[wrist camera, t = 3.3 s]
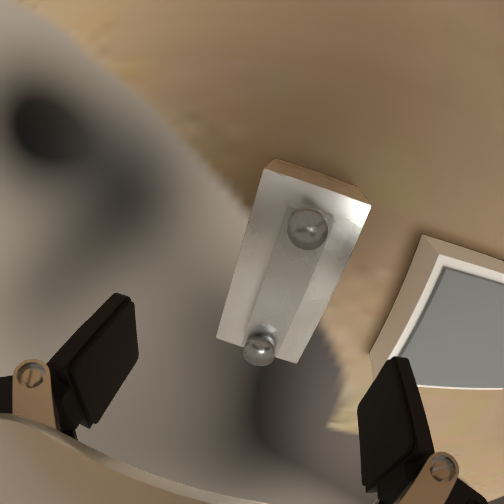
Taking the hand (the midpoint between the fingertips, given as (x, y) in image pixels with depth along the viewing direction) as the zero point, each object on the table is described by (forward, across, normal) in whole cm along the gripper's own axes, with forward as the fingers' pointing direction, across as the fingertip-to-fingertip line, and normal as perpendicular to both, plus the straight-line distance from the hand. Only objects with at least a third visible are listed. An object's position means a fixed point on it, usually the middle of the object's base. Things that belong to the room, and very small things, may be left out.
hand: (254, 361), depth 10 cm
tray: (+9, -16, +2) cm, 18 cm away
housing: (+10, -1, 0) cm, 10 cm away
